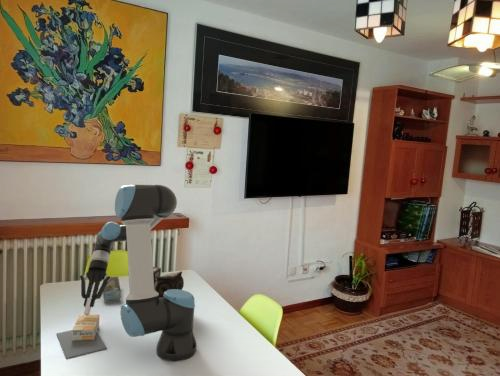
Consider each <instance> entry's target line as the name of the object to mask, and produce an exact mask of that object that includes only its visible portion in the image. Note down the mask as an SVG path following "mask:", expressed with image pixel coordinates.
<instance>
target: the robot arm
mask: <svg viewBox="0 0 500 376" xmlns="http://www.w3.org/2000/svg"><path fill="white" fill-rule="evenodd" d="M177 204H178V201H177V196H176V194H175V192H174V191H173V190H172V189H171V188H169V187H168V186H165V185H161V184H127V185H122V186H120V188H119V189H118V191H117V192H116V195H115V200H114V213H115V216H116V217H118V218H120V222H121V224H118V223H117V222H115V221H107V222H106V223H105V224H104V225H103V226H102V228H101V230H100V231H98V234H97V235H96V238H95V239H96V240H95V243H94V249H93V252H92V254H91V258H90V263H89V265H88V269H87V272H86V274H84V275H82V274H81V275H80V276H79V278H80V281H81V282H80V283H81V285H80V287H81V291H80V292H81V293H80V294H81V295H80V296H81V298H82V299H84V301H83V307H84V310H83V311H84V312H83V315H85V316H89V315H90V312H91V309H92V308H93V307H95V303H96V300H99V299H101V297H102V295H103V292H104V290H105V288H106V286H107V284H108V282H109V281H110V280H111V279H110V277H111V276H110V275H108V274H107V270H108V264H109V261H110V256H111V252H112V248H113V246H114V244H115V243H117V242H118V243H119V242H126V250H127V265H128V266H127V267H128V279H129V281H128V283H129V294H128V295H126V297H125V303H124V304H122V305H121V306H120V319H121V323H122V327H123V329H124V331H125V332H126V334H127V335H128V336H129V337H131V338H136V337H144V336H146V335H149V334H154V333H157V332H161V333H160V336H159V339H158V340H157V343H156V354H157V356H158V357H159V358H161V359H163V360H166V361H168V362H169V361H171V362H180V361H181V362H182V361H185V360H188V359H190V358H192V357H193V356H195V355H196V352H197V346H198V345H197V340H196V338H195V334H194V317H195V307H196V304H195V297H194V295H193V294H192V293H191V292H190V291H186V290H184V289H182V290H179V289H170V290H167V291H165V292H164V294H163V296H164V297H161V298H159V293H158V292H156V291H155V290H154V277H153V267H154V266H153V250H152V235H151V233H152V229H154V227H155V226H156V225H158V224H159V223H160V222H161V221H162V220H163V219H166V218H169V217H170V216H171V215H172V214H173V213H174V212H175V210H176V208H177ZM87 279H88V284H87V288H86V280H87ZM103 279H104V281H103ZM101 282H102V283H101ZM100 283H101V284H100ZM100 285H101V286H100Z"/></svg>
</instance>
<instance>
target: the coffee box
mask: <svg viewBox="0 0 500 376" xmlns="http://www.w3.org/2000/svg"><path fill="white" fill-rule="evenodd" d="M161 273H162V267H156V266H153V277H154V290H155V291H156V284H157V277H158V276H159V277H160V276H162V274H161Z"/></svg>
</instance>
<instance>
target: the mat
mask: <svg viewBox="0 0 500 376" xmlns="http://www.w3.org/2000/svg"><path fill="white" fill-rule="evenodd" d="M72 330H73V329H71V330H66V331H61V332H56V336H57V338H58V341H59V343H60V345H61V349H62V352H63V351H64V352H63V354H64V356H66V357H65V359H66V360H68V359H73V358H77V357H80V356H83V355H87V354H92V353H95V352H100V351H103V350H107V349H108V347H107V346H106V344H105V343H104V341H103V339H102V337H101V336H100V334H99V332H98V331H97V333H96V336H95V339H94V340H81V341H72ZM67 358H68V359H67Z"/></svg>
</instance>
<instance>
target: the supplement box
mask: <svg viewBox="0 0 500 376" xmlns="http://www.w3.org/2000/svg"><path fill="white" fill-rule="evenodd" d="M99 327H100V314H89V316H85V314H79V315H78V317H77V319H76V321H75V323H74V326H73V328H72V329H71V330H72V341H81V340H94V339H95V336H96V333H97V332H98V329H99Z"/></svg>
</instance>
